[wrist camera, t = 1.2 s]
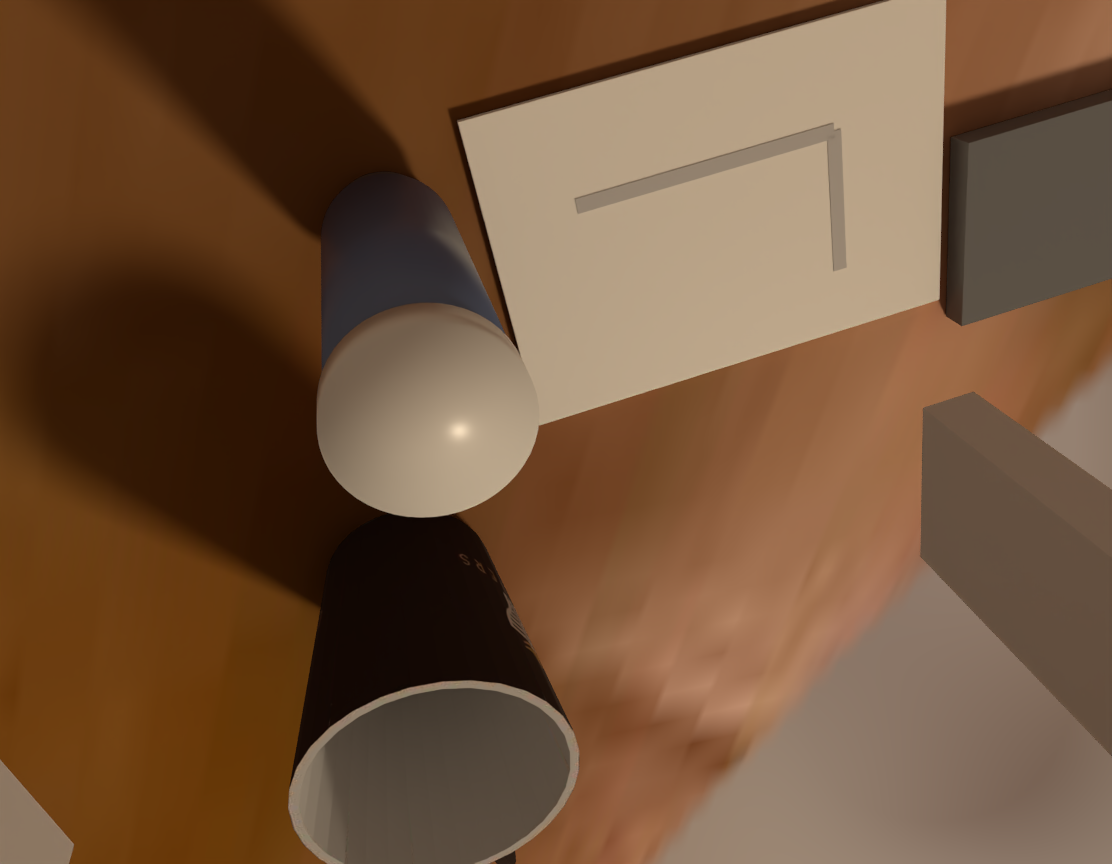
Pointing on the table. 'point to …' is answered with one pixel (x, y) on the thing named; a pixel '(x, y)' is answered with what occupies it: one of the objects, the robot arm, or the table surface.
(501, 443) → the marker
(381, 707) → the coffee mug
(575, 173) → the paper
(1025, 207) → the coaster
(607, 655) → the table surface
